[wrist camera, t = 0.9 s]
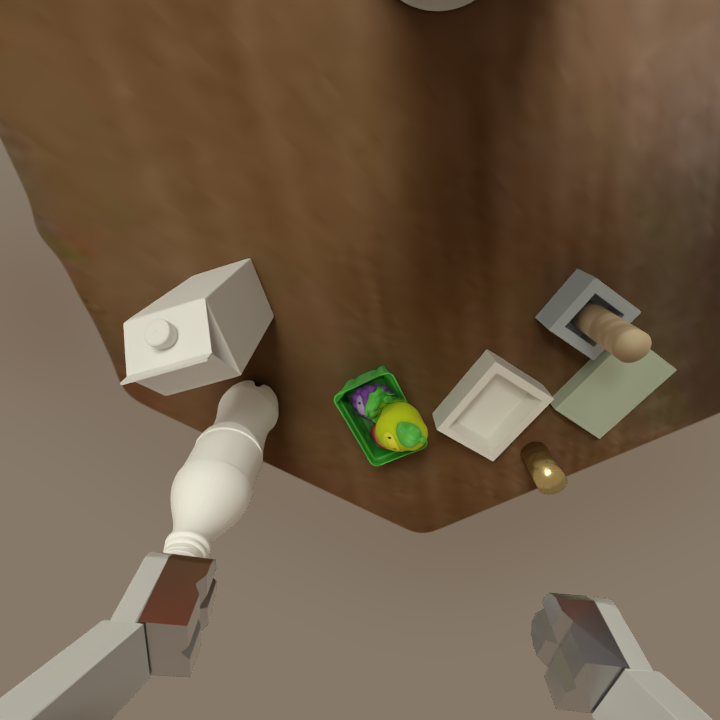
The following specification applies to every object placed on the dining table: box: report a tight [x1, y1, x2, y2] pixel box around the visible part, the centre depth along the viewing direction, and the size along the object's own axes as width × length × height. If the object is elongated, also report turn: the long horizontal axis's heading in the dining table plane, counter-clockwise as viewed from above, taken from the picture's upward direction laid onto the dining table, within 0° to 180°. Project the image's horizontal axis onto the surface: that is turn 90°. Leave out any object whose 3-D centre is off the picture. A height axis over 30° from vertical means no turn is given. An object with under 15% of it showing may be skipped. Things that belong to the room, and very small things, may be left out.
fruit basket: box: [334, 366, 428, 466], centre depth 48 cm, size 11×9×11 cm
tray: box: [432, 349, 554, 461], centre depth 52 cm, size 11×9×4 cm
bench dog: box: [521, 442, 567, 494], centre depth 54 cm, size 4×4×6 cm
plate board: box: [550, 349, 677, 439], centre depth 52 cm, size 12×8×2 cm, turn 146°
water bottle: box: [163, 380, 279, 558], centre depth 42 cm, size 7×7×25 cm
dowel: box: [570, 300, 652, 363], centre depth 43 cm, size 3×3×10 cm
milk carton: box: [120, 258, 274, 396], centre depth 39 cm, size 7×7×19 cm
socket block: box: [535, 268, 641, 360], centre depth 46 cm, size 7×7×4 cm
